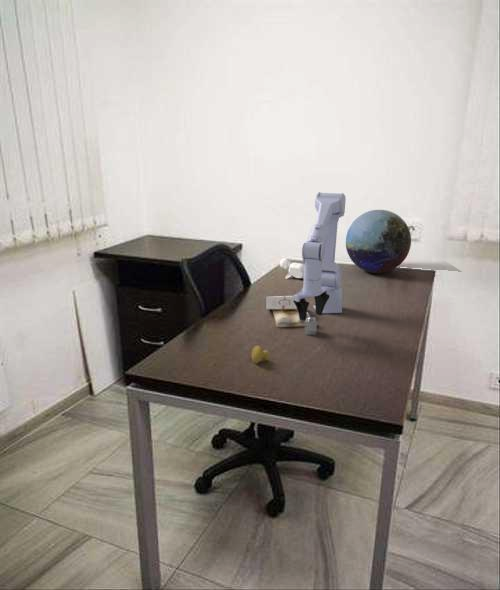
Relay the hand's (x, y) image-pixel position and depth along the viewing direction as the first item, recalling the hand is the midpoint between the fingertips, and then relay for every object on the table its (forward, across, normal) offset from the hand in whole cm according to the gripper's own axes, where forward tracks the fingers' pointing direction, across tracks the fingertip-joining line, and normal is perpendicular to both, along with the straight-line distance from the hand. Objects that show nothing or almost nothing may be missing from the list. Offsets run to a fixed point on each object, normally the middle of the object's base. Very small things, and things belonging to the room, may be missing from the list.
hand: (310, 317), depth 155 cm
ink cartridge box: (+2, -2, -25) cm, 25 cm away
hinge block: (+6, 0, 0) cm, 6 cm away
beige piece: (+6, -3, -12) cm, 14 cm away
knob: (+6, +27, +6) cm, 28 cm away
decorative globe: (+5, -77, -32) cm, 84 cm away
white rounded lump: (+6, -40, -50) cm, 65 cm away
